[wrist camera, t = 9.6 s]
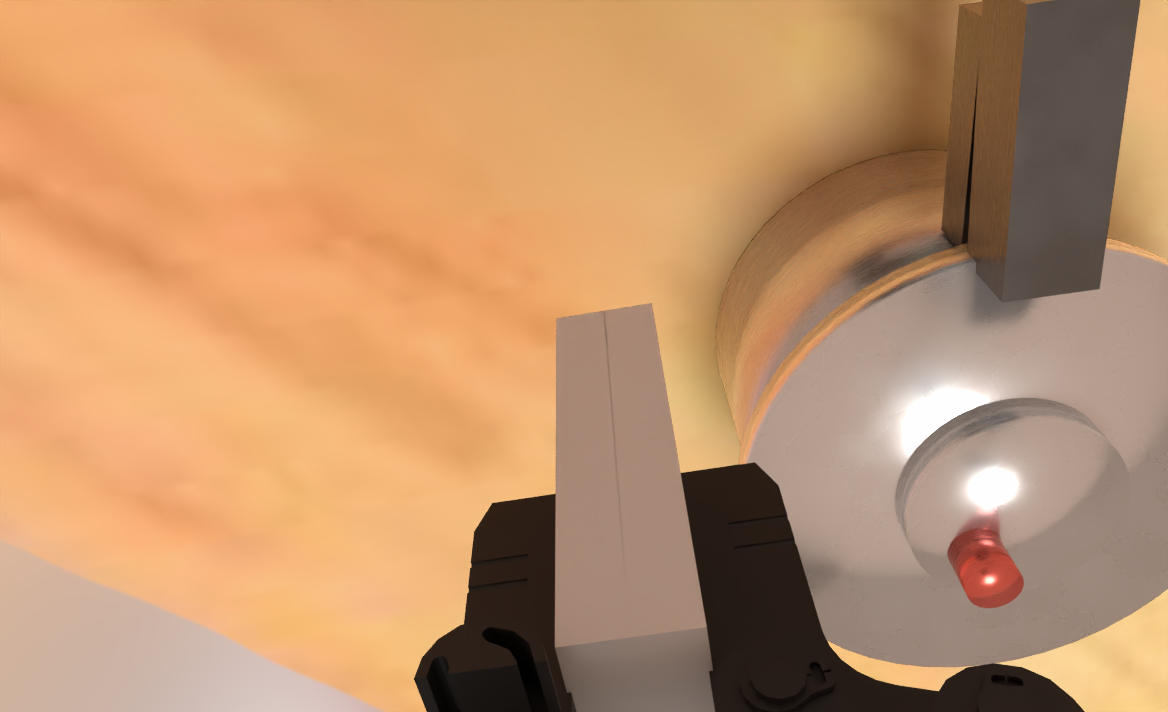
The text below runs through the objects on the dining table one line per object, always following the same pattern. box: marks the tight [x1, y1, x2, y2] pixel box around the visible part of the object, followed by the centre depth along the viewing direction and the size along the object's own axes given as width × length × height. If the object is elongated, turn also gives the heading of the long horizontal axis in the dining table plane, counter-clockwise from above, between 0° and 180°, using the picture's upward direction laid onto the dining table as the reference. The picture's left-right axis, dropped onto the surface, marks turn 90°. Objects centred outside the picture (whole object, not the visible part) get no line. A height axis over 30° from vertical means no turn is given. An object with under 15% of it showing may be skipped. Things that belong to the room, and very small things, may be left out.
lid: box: [738, 0, 1168, 667], centre depth 34 cm, size 28×20×5 cm
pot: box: [716, 2, 983, 445], centre depth 41 cm, size 28×18×11 cm, turn 6°
